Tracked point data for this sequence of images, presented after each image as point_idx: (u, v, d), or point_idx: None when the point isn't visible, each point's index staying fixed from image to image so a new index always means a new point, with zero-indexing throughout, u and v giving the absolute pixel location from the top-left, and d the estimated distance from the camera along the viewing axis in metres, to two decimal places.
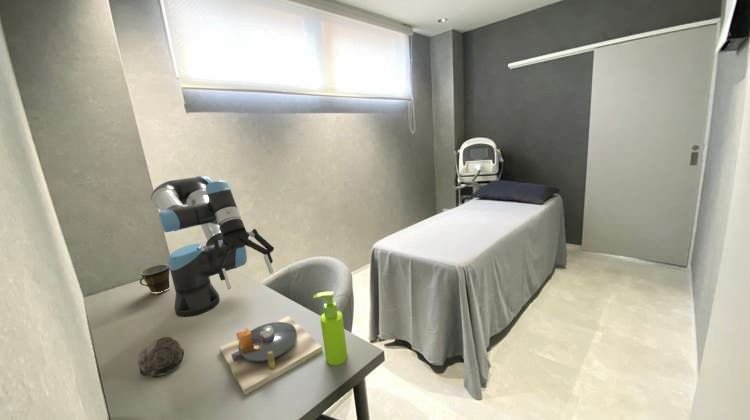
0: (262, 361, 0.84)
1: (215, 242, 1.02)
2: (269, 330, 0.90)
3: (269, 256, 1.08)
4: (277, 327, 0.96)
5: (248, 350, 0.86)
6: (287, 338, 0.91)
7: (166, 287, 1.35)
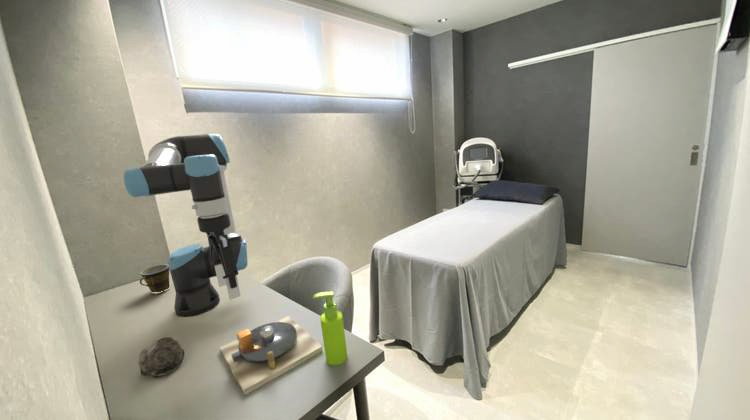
0: (262, 361, 0.84)
1: (206, 233, 0.89)
2: (269, 330, 0.90)
3: (229, 280, 0.82)
4: (277, 327, 0.96)
5: (248, 350, 0.86)
6: (287, 338, 0.91)
7: (166, 287, 1.35)
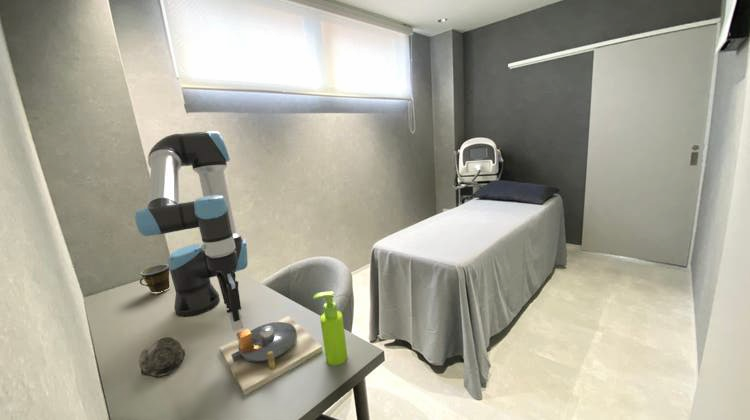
0: (262, 361, 0.84)
1: None
2: (269, 330, 0.90)
3: (232, 314, 0.89)
4: (277, 327, 0.96)
5: (248, 350, 0.86)
6: (287, 338, 0.91)
7: (166, 287, 1.35)
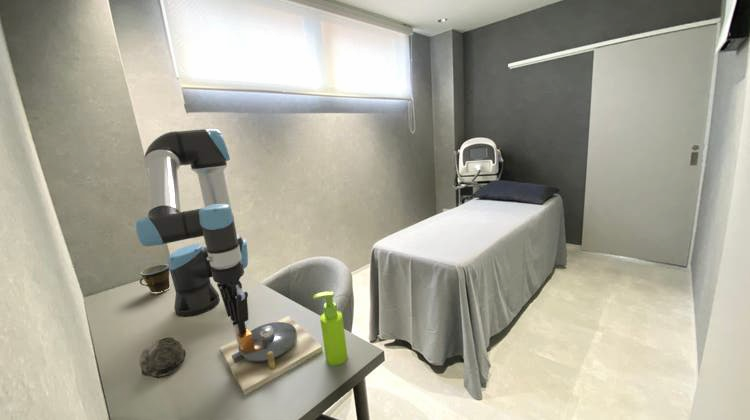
0: (264, 361, 0.84)
1: (218, 286, 0.87)
2: (269, 330, 0.90)
3: (239, 326, 0.86)
4: (276, 327, 0.96)
5: (249, 350, 0.86)
6: (287, 337, 0.91)
7: (166, 287, 1.35)
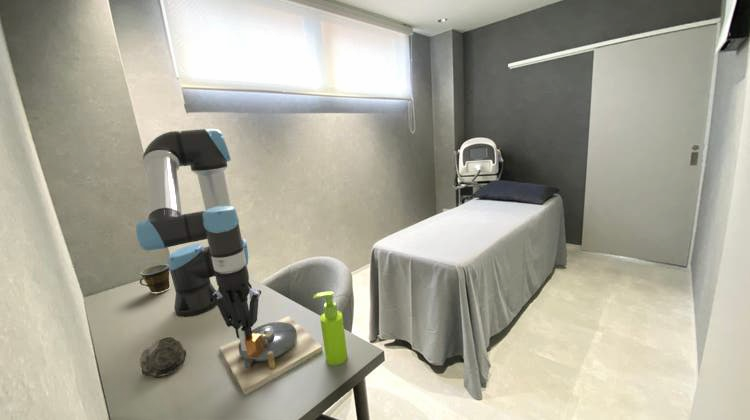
0: (281, 354, 0.86)
1: (213, 298, 0.81)
2: (270, 328, 0.91)
3: (246, 331, 0.84)
4: None
5: (260, 352, 0.85)
6: (287, 330, 0.94)
7: (166, 287, 1.35)
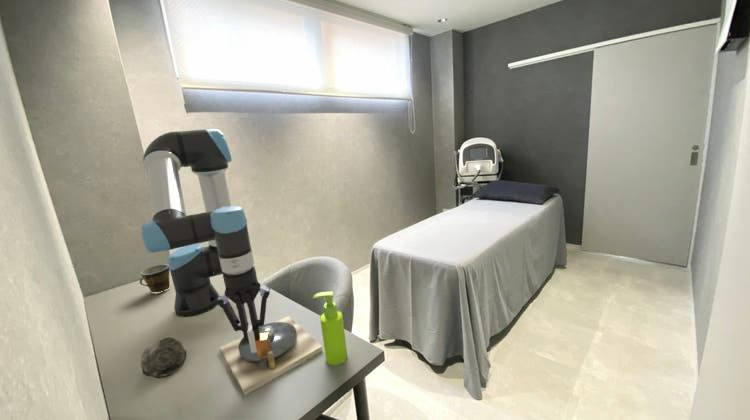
0: (291, 347, 0.89)
1: (219, 303, 0.78)
2: (270, 327, 0.91)
3: (256, 331, 0.83)
4: None
5: (270, 350, 0.86)
6: (284, 327, 0.96)
7: (166, 287, 1.35)
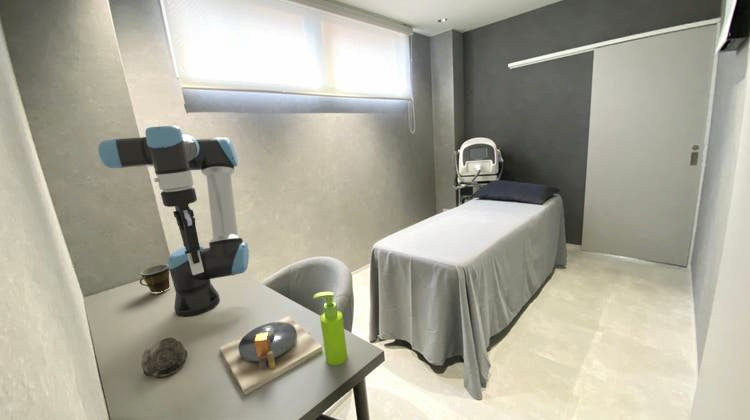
0: (290, 347, 0.88)
1: None
2: (270, 327, 0.91)
3: (191, 256, 0.84)
4: (258, 332, 0.95)
5: (270, 350, 0.86)
6: (284, 327, 0.96)
7: (166, 287, 1.35)
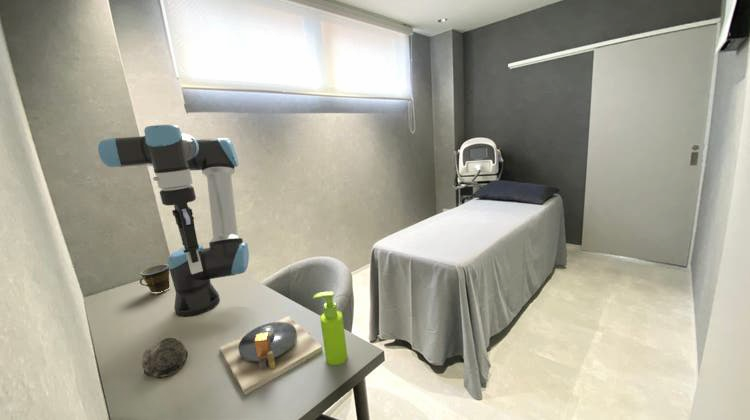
0: (290, 347, 0.88)
1: None
2: (270, 327, 0.91)
3: (190, 255, 0.84)
4: (258, 332, 0.95)
5: (270, 350, 0.86)
6: (284, 327, 0.96)
7: (166, 287, 1.35)
